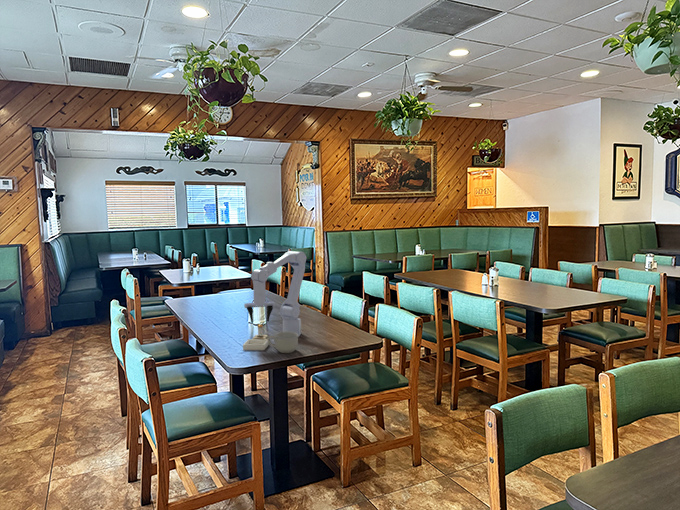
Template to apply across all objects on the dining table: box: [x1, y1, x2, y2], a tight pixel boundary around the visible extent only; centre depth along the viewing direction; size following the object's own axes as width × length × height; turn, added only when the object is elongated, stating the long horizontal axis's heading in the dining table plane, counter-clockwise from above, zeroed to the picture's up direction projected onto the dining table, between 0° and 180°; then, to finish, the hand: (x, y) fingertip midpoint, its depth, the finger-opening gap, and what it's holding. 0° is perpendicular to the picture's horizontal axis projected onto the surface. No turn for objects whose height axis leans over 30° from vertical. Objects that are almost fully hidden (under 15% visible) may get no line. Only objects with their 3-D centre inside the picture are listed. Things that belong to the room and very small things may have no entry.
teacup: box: [267, 331, 299, 354], centre depth 214 cm, size 14×11×8 cm
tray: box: [242, 338, 270, 351], centre depth 221 cm, size 10×10×2 cm
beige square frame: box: [252, 334, 269, 339], centre depth 229 cm, size 6×6×3 cm
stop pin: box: [257, 323, 264, 337], centre depth 229 cm, size 2×2×9 cm
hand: (259, 321), depth 229 cm, fingers open, 7 cm apart
